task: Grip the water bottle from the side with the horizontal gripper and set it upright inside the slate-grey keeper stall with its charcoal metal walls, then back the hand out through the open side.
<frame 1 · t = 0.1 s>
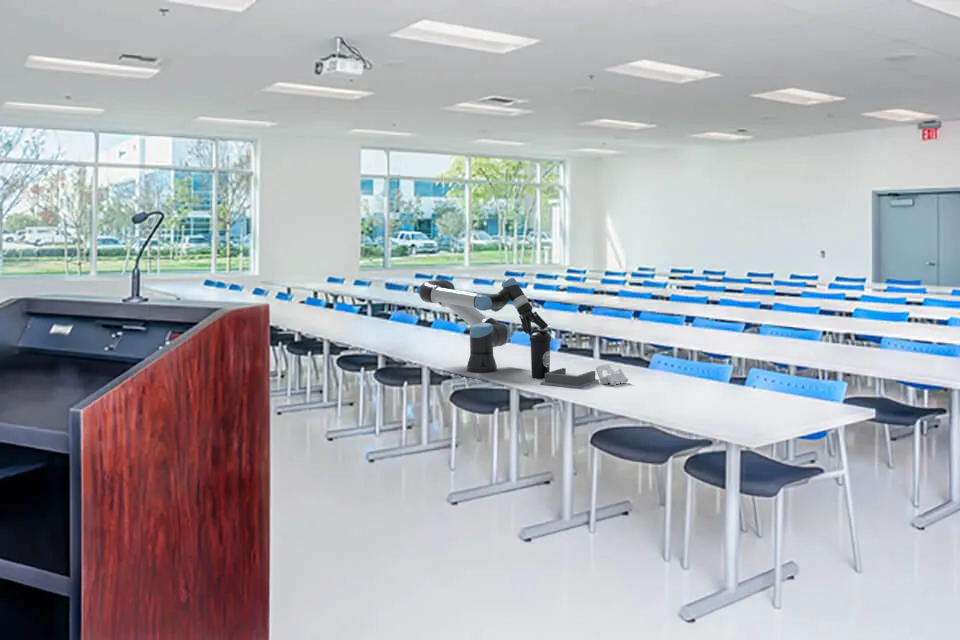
hand: (544, 341, 400), 15 cm above the table, tool tilted 35°, fingers open, 13 cm apart
mounting bracket: (612, 384, 367), on the table
keeper stall: (569, 383, 369), on the table
water bottle: (540, 377, 384), on the table
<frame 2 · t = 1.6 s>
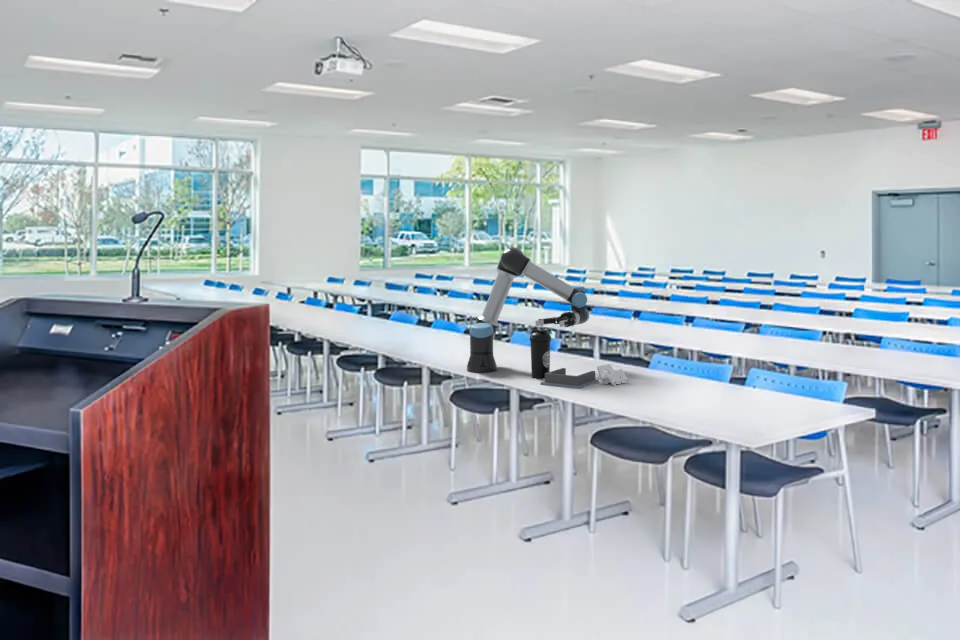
hand: (548, 323, 389), 25 cm above the table, tool horizontal, fingers open, 13 cm apart
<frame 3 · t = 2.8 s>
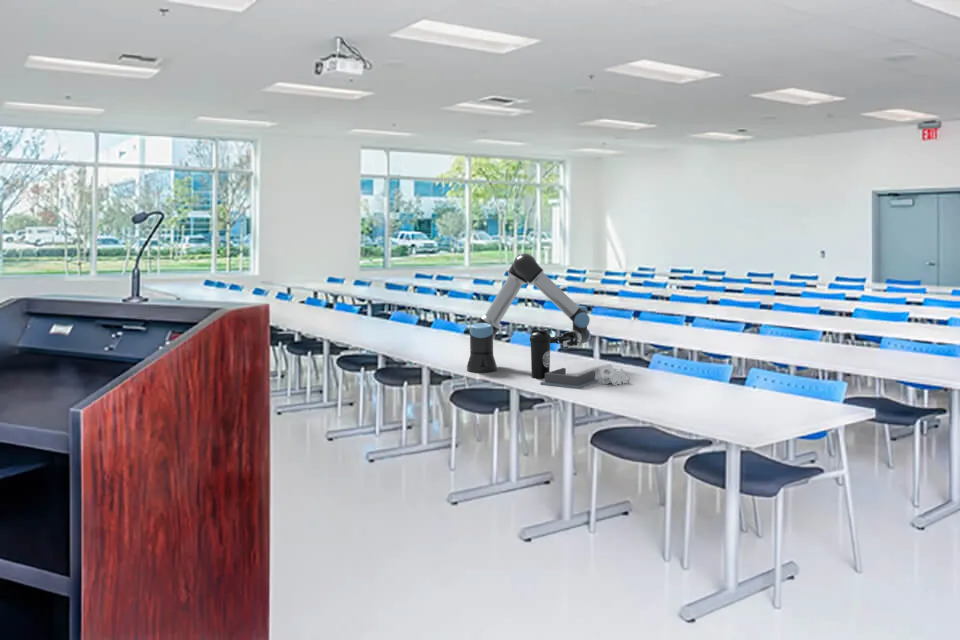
hand: (551, 343, 391), 15 cm above the table, tool horizontal, fingers open, 13 cm apart
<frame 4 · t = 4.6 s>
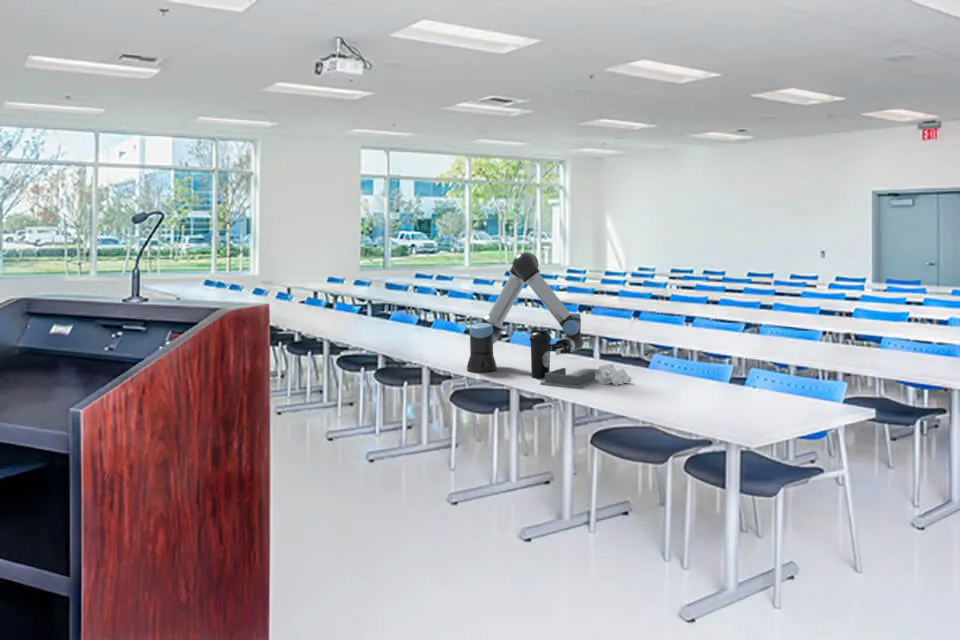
hand: (543, 351, 384), 12 cm above the table, tool horizontal, fingers open, 13 cm apart
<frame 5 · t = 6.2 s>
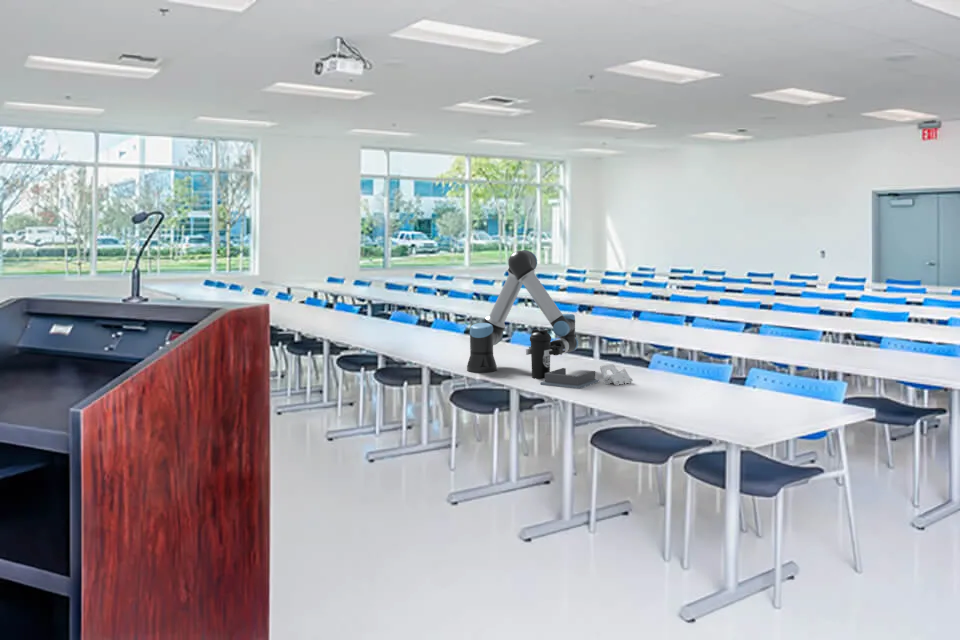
hand: (535, 352, 379), 12 cm above the table, tool horizontal, fingers closed on water bottle, 9 cm apart
water bottle: (540, 377, 384), on the table, touching gripper
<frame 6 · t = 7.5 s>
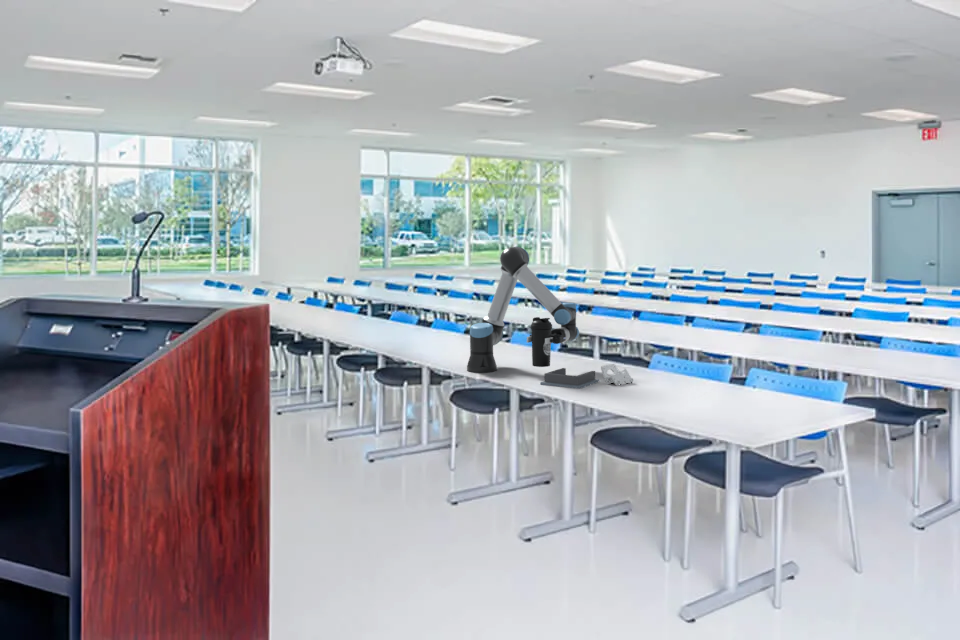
hand: (536, 340, 379), 18 cm above the table, tool horizontal, fingers closed on water bottle, 9 cm apart
water bottle: (541, 365, 384), point 6 cm above the table, touching gripper
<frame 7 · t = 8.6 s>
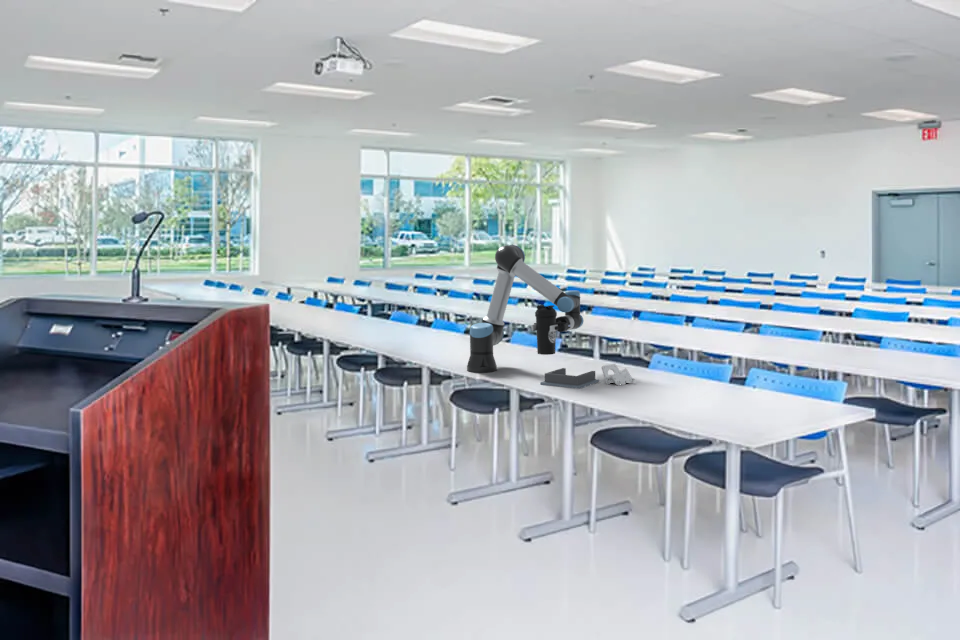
hand: (541, 328, 376), 24 cm above the table, tool horizontal, fingers closed on water bottle, 9 cm apart
water bottle: (546, 353, 381), point 12 cm above the table, touching gripper
when the fingers open (15 cm above the table, at t = 12.0 s): water bottle drops 1 cm, resting on keeper stall.
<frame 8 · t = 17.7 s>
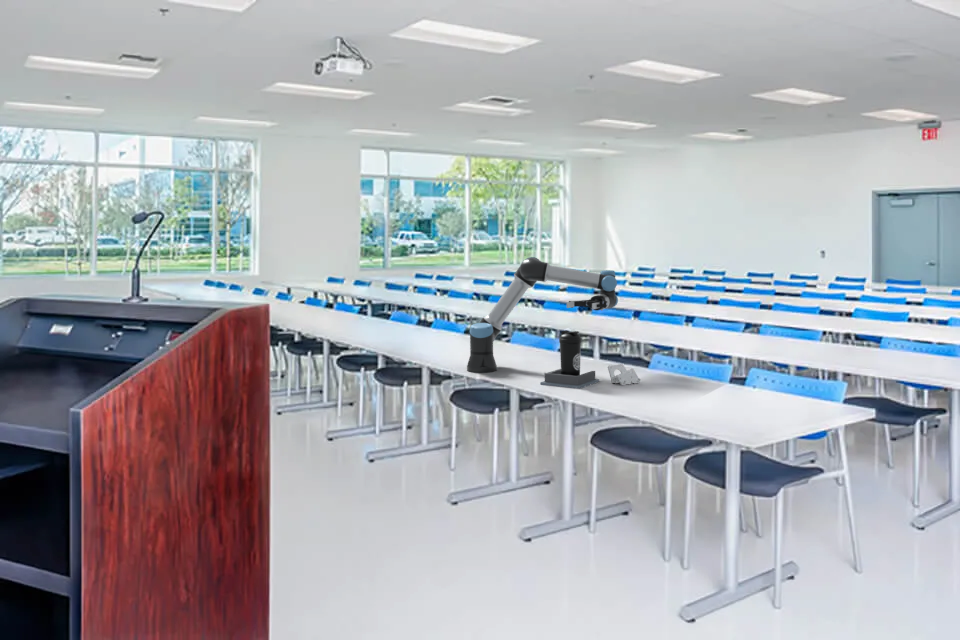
hand: (579, 305, 384), 34 cm above the table, tool horizontal, fingers open, 13 cm apart
mounting bracket: (624, 383, 367), on the table
water bottle: (570, 381, 369), point 1 cm above the table, touching keeper stall
at the end: water bottle inside the target area on the keeper stall (0.1 cm from its centre), point 0.8 cm above the keeper stall's base; water bottle tilted 0°; the gripper is holding nothing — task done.
